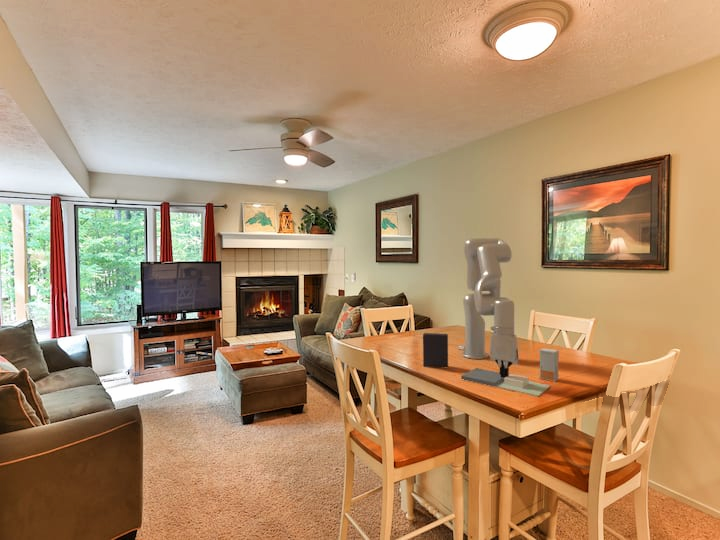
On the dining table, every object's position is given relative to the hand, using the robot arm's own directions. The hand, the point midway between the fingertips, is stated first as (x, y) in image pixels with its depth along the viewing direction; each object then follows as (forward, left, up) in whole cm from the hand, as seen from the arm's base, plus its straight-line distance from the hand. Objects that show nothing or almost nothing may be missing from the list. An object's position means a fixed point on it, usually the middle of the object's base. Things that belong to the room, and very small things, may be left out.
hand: (504, 376), depth 153 cm
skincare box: (+12, +16, -3) cm, 20 cm away
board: (-8, 0, -2) cm, 8 cm away
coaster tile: (+5, 0, -2) cm, 5 cm away
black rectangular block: (-33, +3, -3) cm, 33 cm away
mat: (+7, 0, -2) cm, 7 cm away
